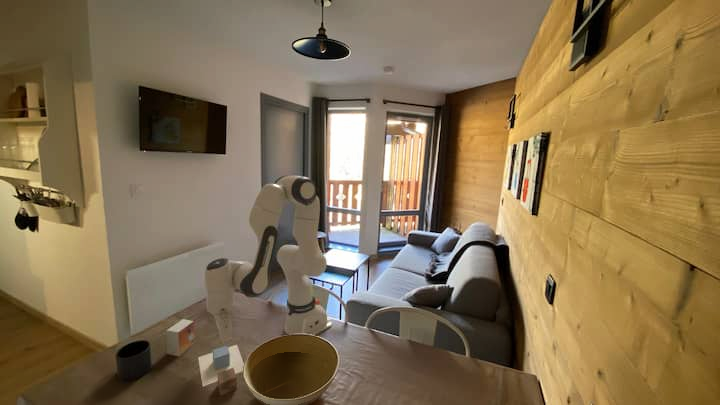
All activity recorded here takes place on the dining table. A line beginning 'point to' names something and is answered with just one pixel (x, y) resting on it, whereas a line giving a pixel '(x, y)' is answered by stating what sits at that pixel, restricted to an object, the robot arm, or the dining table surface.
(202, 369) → the cream flat square panel
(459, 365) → the dining table surface
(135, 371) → the mug
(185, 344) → the small box
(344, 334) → the dining table surface
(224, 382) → the block
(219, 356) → the cube
